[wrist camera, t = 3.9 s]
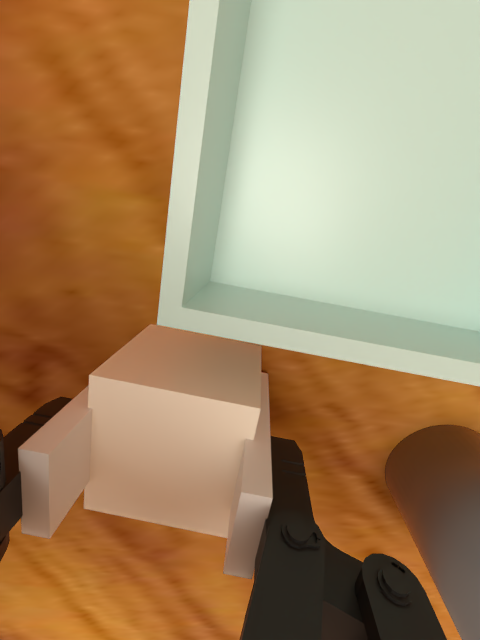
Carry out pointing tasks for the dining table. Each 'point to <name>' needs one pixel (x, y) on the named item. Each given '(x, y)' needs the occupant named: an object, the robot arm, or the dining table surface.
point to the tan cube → (172, 428)
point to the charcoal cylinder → (443, 513)
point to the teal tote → (330, 181)
